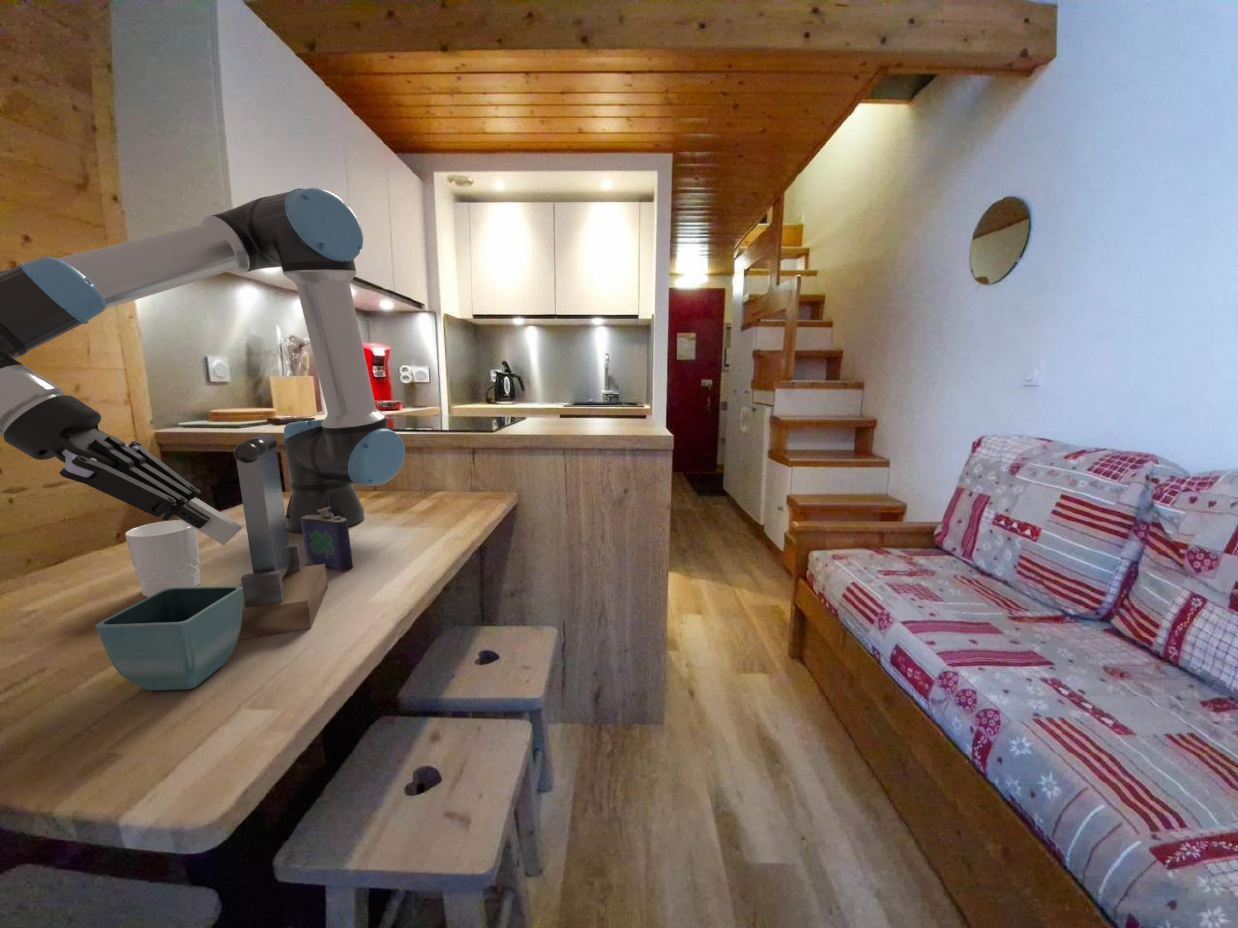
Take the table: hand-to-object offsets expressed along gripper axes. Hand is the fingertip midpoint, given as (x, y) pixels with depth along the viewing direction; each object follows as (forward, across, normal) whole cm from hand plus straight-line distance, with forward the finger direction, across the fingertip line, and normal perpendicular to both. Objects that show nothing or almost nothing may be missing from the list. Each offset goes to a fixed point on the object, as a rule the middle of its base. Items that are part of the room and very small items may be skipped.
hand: (233, 535), depth 65 cm
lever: (+8, 0, -2) cm, 8 cm away
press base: (+11, 0, -6) cm, 13 cm away
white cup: (-1, -15, -18) cm, 23 cm away
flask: (+14, -16, -3) cm, 22 cm away
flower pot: (+7, +13, -10) cm, 18 cm away
